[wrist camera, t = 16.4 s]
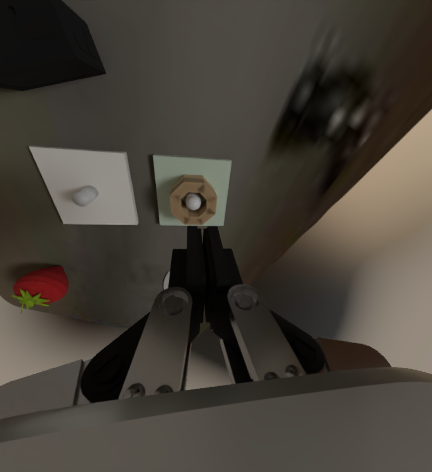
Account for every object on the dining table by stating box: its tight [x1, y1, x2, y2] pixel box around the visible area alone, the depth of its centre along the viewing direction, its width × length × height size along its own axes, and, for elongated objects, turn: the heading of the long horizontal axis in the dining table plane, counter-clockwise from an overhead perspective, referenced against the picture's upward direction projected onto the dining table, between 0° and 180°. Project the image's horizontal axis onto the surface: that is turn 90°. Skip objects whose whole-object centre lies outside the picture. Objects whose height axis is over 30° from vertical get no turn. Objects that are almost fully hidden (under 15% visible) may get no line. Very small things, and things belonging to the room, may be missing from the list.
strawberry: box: [11, 266, 69, 314], centre depth 32 cm, size 6×8×10 cm
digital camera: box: [0, 0, 106, 91], centre depth 17 cm, size 10×5×7 cm, turn 100°
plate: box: [153, 154, 232, 226], centre depth 29 cm, size 12×12×5 cm
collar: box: [170, 174, 217, 225], centre depth 29 cm, size 7×7×4 cm
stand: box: [29, 146, 138, 225], centre depth 27 cm, size 12×12×4 cm
